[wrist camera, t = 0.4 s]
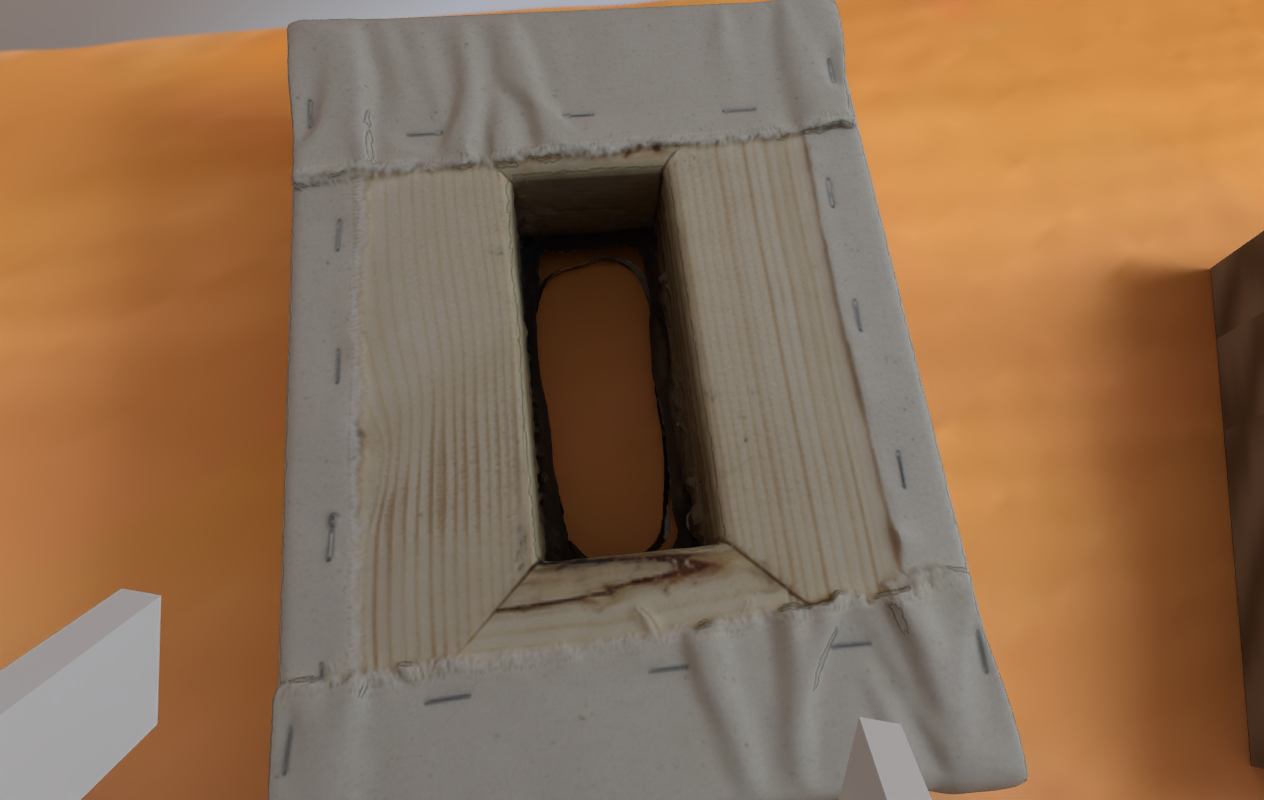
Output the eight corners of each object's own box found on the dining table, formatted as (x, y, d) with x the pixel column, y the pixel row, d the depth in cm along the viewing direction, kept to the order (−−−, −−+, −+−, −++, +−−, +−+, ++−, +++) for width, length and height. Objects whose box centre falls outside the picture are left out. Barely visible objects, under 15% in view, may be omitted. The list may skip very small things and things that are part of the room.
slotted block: (956, 773, 33) (796, 90, 43) (1061, 792, 25) (838, -35, 36) (335, 866, 31) (326, 125, 41) (255, 915, 23) (270, 0, 34)
